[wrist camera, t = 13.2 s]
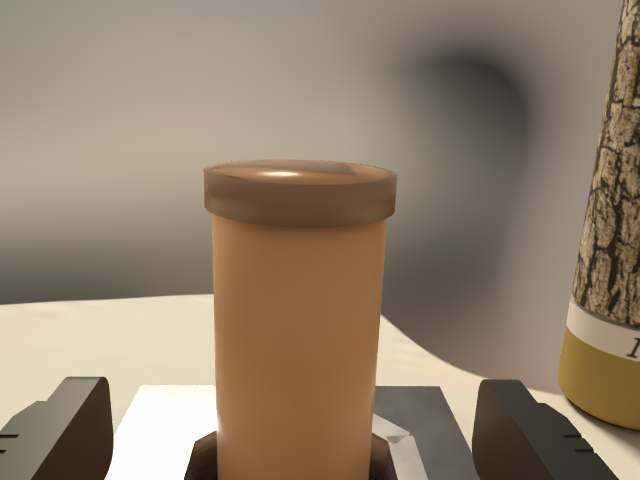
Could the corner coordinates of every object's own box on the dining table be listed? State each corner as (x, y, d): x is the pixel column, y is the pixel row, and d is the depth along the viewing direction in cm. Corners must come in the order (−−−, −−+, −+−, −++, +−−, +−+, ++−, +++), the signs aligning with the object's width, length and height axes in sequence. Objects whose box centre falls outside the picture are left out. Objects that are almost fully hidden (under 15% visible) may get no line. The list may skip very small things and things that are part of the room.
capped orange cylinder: (199, 617, 15) (184, 182, 12) (225, 486, 20) (219, 157, 17) (380, 616, 16) (416, 189, 12) (360, 486, 21) (381, 162, 17)
